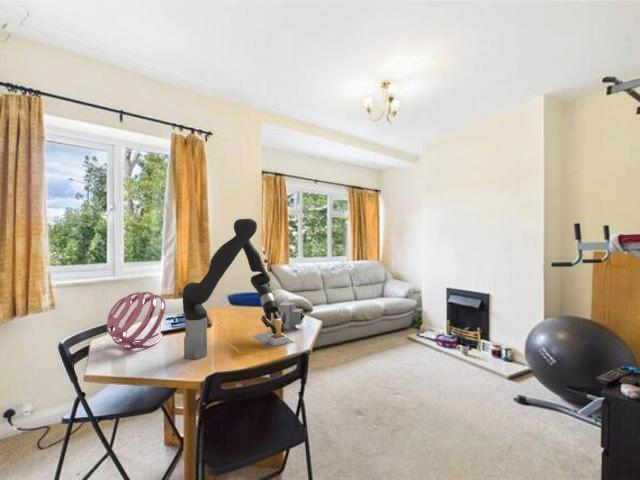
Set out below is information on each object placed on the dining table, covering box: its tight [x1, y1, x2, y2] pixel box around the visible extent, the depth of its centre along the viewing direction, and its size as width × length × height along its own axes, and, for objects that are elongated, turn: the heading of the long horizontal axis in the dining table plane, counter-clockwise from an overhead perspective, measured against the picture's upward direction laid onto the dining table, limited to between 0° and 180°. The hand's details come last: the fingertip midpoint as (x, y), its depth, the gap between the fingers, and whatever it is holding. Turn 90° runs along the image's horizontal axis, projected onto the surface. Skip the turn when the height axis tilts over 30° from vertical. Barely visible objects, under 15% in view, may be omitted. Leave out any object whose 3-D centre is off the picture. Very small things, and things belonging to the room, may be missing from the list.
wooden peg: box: [273, 319, 283, 339], centre depth 155 cm, size 4×4×10 cm
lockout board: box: [252, 331, 294, 349], centre depth 160 cm, size 22×14×4 cm, turn 34°
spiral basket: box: [106, 291, 166, 350], centre depth 154 cm, size 28×28×27 cm
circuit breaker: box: [278, 301, 306, 330], centre depth 181 cm, size 8×14×15 cm, turn 78°
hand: (279, 332), depth 154 cm, fingers closed on wooden peg, 4 cm apart
